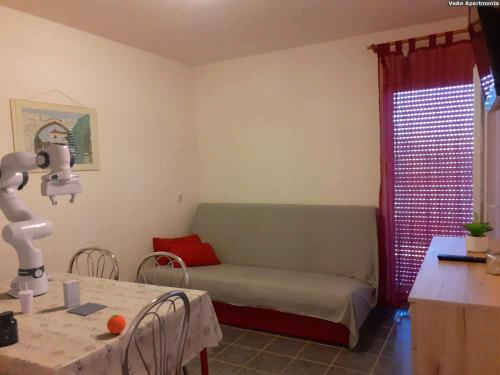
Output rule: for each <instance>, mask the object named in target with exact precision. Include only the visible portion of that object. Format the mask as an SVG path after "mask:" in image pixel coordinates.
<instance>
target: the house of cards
mask: <svg viewBox="0 0 500 375" xmlns="http://www.w3.org/2000/svg"><path fill="white" fill-rule="evenodd" d="M44 270H45V271H44V273H46V275H47V280H49V279H52V277H51V275H49V274H48V273H47V272H46V269H45V268H44ZM49 281H50V280H49Z"/></svg>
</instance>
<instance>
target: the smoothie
mask: <svg viewBox="0 0 500 375" xmlns="http://www.w3.org/2000/svg"><path fill="white" fill-rule="evenodd" d="M25 284H26V290H25V291H21V292H19V293H18V296H19V298H18V299H19V304H20V308H21V311H22V314H23V313H24V314H30V313H32V312H33V303H34V302H33V298H34V296H33V293H34V291H33V290H27V282H25Z"/></svg>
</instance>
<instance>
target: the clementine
mask: <svg viewBox="0 0 500 375" xmlns="http://www.w3.org/2000/svg"><path fill="white" fill-rule="evenodd" d="M126 324H127V322H126V319H125V318H124V317H123V315H120V314H112V315H111V317H109V319H108V321H107V322H106V328H107V330H108V331H109V332H110V333H111V334H114V335H115V334H121V333H122V332H123V331H124V329H125V328H126Z"/></svg>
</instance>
